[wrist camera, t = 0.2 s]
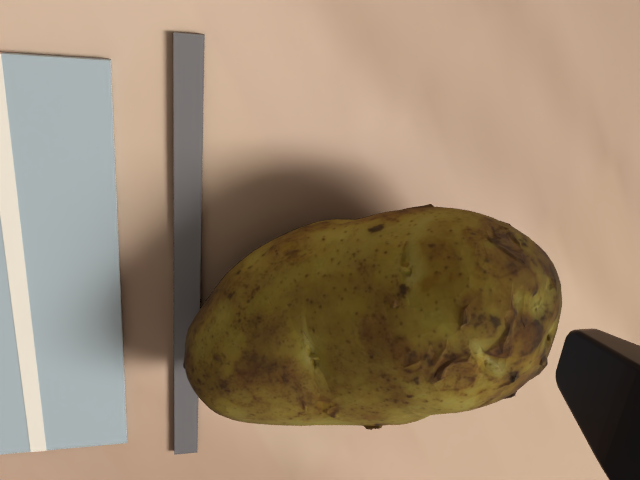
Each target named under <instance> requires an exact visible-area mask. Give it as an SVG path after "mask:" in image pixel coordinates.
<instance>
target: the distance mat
mask: <svg viewBox="0 0 640 480" xmlns="http://www.w3.org/2000/svg"><path fill="white" fill-rule="evenodd" d="M122 443H127V423H126V401H125V378H124V355H123V332H122V309H121V286H120V263H119V240H118V217H117V195H116V172H115V149H114V126H113V103H112V80H111V59H100V58H84V57H68V56H52V55H37V54H21V53H5V52H0V454H11V453H22V452H37V451H46V450H55V449H67V448H78V447H89V446H100V445H111V444H122Z"/></svg>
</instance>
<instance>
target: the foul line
mask: <svg viewBox="0 0 640 480" xmlns="http://www.w3.org/2000/svg"><path fill="white" fill-rule="evenodd" d="M203 91H204V34H193V33H180V32H173V116H174V455H175V454H185V453H196V452H197V438H198V396H197V395H196V393H195V392H194V390H193V389H192V387H191V385H190V383H189V381H188V379H187V375H186V372H185V369H184V368H183V363H184V353H185V341H186V335H187V332H188V328H189V326H190V324H191V323H192V321H193V319H194V317H195V316H196V314H197V313H198V312H199V310H200V265H201V207H202V149H203Z"/></svg>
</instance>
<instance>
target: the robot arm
mask: <svg viewBox="0 0 640 480" xmlns="http://www.w3.org/2000/svg"><path fill="white" fill-rule="evenodd" d="M556 382H557V385H558V388H559V390H560V392H561V393H562V395H563V397H564V399H565V401H566V403H567V405H568V406H569V408H570V410H571V412H572V414H573V416H574V418H575V420H576V421H577V423H578V425H579V427H580V429H581V431H582V433H583V434H584V436H585V438H586V440H587V442H588V444H589V446H590V447H591V449H592V451H593V453H594V455H595V457H596V458H597V460H598V462H599V464H600V465H601V467H602V469H603V470H604V472H605V474H606V475H607V477H608V478H609V480H640V346H639V345H636V344H634V343H631V342H629V341H626V340H623V339H621V338H618V337H616V336H613V335H610V334H608V333H605V332H603V331H600V330H597V329H580V330H573V331H571V332H570V333H569V334H568V335H567V337H566V339H565V342H564V346H563V349H562V353H561V356H560V359H559V363H558V366H557V369H556Z"/></svg>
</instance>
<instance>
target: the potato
mask: <svg viewBox="0 0 640 480" xmlns="http://www.w3.org/2000/svg"><path fill="white" fill-rule="evenodd" d="M561 307H562V295H561V284H560V280H559V277H558V274H557V271H556V269H555V267H554V264H553V263H552V261H551V260H550V258H549V257H548V255H547V254H546V253H545V252H544V251H543V250H542V249H541V248H540V247H539V246H538V245H537V244H536V243H535V242H534V241H532V240H531V239H530V238H529V237H527V236H526V235H524V234H523V233H521V232H520V231H518V230H517V229H515V228H514V227H512V226H511V225H510V224H508V223H505V222H502V221H499V220H496V219H494V218H492V217H489V216H486V215H482V214H479V213H476V212H472V211H467V210H461V209H454V208H443V207H434V206H433V205H432V204H429V205H425V206H419V207H412V208H407V209H403V210H397V211H390V212H383V213H379V214H376V215H372V216H368V217H365V218H361V219H356V220H348V219H333V220H324V221H319V222H315V223H312V224H309V225H305V226H303V227H300V228H298V229H295V230H293V231H291V232H289V233H287V234H284V235H282V236H280V237H278V238H276V239H274V240H272V241H270V242H268V243H266V244H265V245H263V246H261V247H260V248H258V249H256V250H255V251H253V252H252V253H251V254H249V255H248V256H247V257H245V258H244V259H243V260H242V261H240V262H239V263H238V264H237V265H236V266H234V267H233V268H232V269H231V270H230V271H229V272H228V273H227V274H226V275H225V276H224V278H223V279H222V280H221V281H220V283H219V284H218V285H217V286H216V288H215V289H214V291H213V292H212V293H211V295H210V296H209V298H208V299H207V300H206V302H205V303H204V304H203V306H202V307H201V309H200V310H199V312H198V313H197V314H196V316H195V317H194V319H193V321H192V323H191V324H190V326H189V328H188V332H187V335H186V341H185V353H184V363H183V368H184V369H185V372H186V375H187V379H188V381H189V383H190V385H191V387H192V389H193V390H194V392H195V393H196V395H197V396H198V397H199V398H200V399H201V400H202V401H203V402H204V403H205V404H206V405H207V406H208V407H209V408H210V409H211V410H213V411H214V412H215V413H217V414H219V415H221V416H224V417H227V418H229V419H232V420H236V421H241V422H247V423H256V424H269V425H295V426H306V425H362V426H364V427H365V428H366V429H371V430H372V429H373V428H375V429H376V428H377V429H379V428H381V427H382V425H400V424H407V423H411V422H415V421H418V420H421V419H423V418H425V417H427V416H430V415H435V414H446V413H458V412H463V411H469V410H473V409H476V408H480V407H483V406H487V405H489V404H492V403H495V402H497V401H500V400H502V399H506V398H511V397H513V396H515V394H516V392H517V390H518V389H519V388H521V387H522V386H523V385H524V384H525V383H527V382H528V381H529V380H531V379H532V378H534V377H535V376H537V375H538V374H540V373H541V371H542V370H543V369H544V368H545V367H546V366H547V357H548V355H549V352H550V350H551V347H552V344H553V341H554V338H555V335H556V331H557V327H558V323H559V318H560V314H561Z"/></svg>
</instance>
